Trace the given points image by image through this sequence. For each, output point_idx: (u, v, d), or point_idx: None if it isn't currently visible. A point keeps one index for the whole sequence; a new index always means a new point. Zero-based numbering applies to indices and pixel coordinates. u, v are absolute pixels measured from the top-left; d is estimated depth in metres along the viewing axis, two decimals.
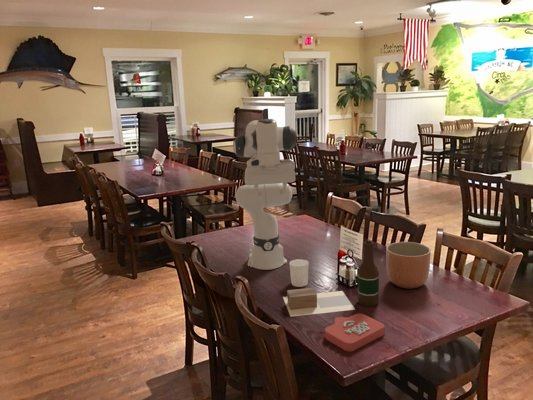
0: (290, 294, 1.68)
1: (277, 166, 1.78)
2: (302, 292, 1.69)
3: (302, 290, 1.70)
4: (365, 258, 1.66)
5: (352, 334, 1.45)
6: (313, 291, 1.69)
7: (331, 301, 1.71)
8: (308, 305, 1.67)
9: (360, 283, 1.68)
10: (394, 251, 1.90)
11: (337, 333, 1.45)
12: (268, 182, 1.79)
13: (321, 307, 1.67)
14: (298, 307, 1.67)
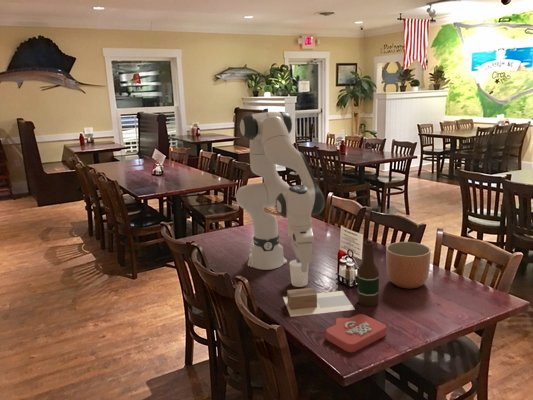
0: (290, 294, 1.68)
1: None
2: (302, 292, 1.69)
3: (302, 290, 1.70)
4: (365, 258, 1.66)
5: (354, 335, 1.44)
6: (313, 291, 1.69)
7: (331, 301, 1.71)
8: (308, 305, 1.67)
9: (360, 283, 1.68)
10: (394, 251, 1.90)
11: (339, 334, 1.45)
12: None
13: (321, 307, 1.67)
14: (298, 307, 1.67)
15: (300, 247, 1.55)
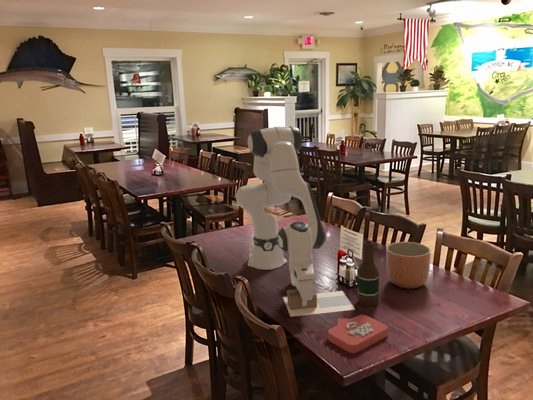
0: (290, 294, 1.68)
1: None
2: None
3: None
4: (365, 258, 1.66)
5: (355, 336, 1.44)
6: (313, 291, 1.69)
7: (331, 301, 1.71)
8: (308, 305, 1.67)
9: (360, 283, 1.68)
10: (394, 251, 1.90)
11: (340, 335, 1.44)
12: None
13: (321, 307, 1.67)
14: (298, 307, 1.67)
15: (301, 284, 1.58)
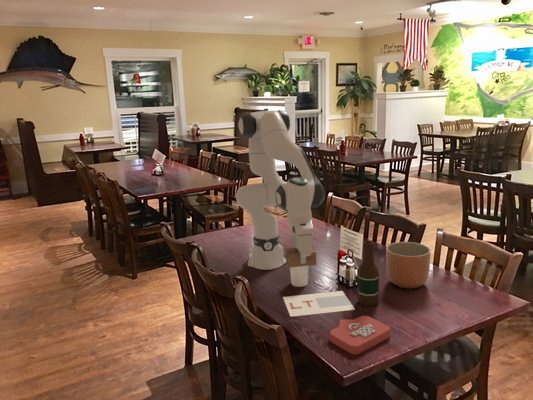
0: (288, 252, 1.64)
1: None
2: None
3: None
4: (365, 258, 1.66)
5: (357, 337, 1.43)
6: (312, 249, 1.65)
7: (331, 301, 1.71)
8: (307, 262, 1.63)
9: (360, 283, 1.68)
10: (394, 251, 1.90)
11: (342, 336, 1.44)
12: None
13: (321, 307, 1.67)
14: (297, 265, 1.63)
15: (300, 239, 1.54)
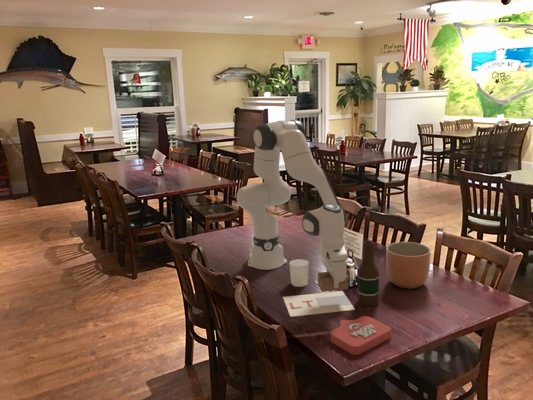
0: (321, 276, 1.68)
1: None
2: None
3: None
4: (365, 258, 1.66)
5: (358, 337, 1.43)
6: None
7: (331, 301, 1.71)
8: (339, 287, 1.67)
9: (360, 283, 1.67)
10: (394, 251, 1.90)
11: (343, 336, 1.43)
12: None
13: (321, 307, 1.67)
14: (329, 289, 1.67)
15: (334, 265, 1.58)
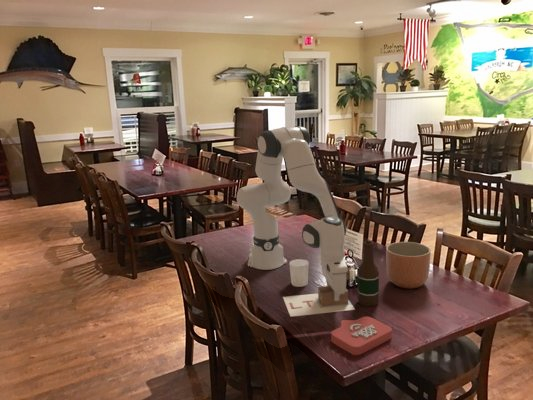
0: (321, 291, 1.69)
1: None
2: None
3: None
4: (365, 258, 1.66)
5: (359, 337, 1.42)
6: None
7: None
8: (339, 301, 1.69)
9: (360, 283, 1.68)
10: (394, 251, 1.90)
11: (344, 337, 1.43)
12: None
13: (321, 307, 1.67)
14: (330, 304, 1.68)
15: (334, 278, 1.59)
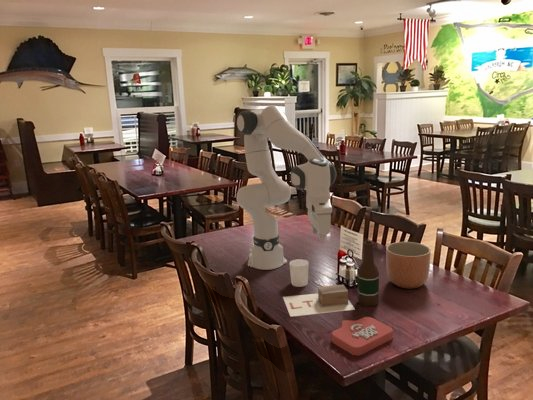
0: (321, 291, 1.69)
1: None
2: (333, 288, 1.71)
3: (333, 287, 1.72)
4: (365, 258, 1.66)
5: (359, 338, 1.42)
6: (344, 288, 1.71)
7: None
8: (339, 301, 1.69)
9: (360, 283, 1.68)
10: (394, 251, 1.90)
11: (344, 337, 1.43)
12: None
13: (321, 307, 1.67)
14: (330, 304, 1.68)
15: (319, 218, 1.60)
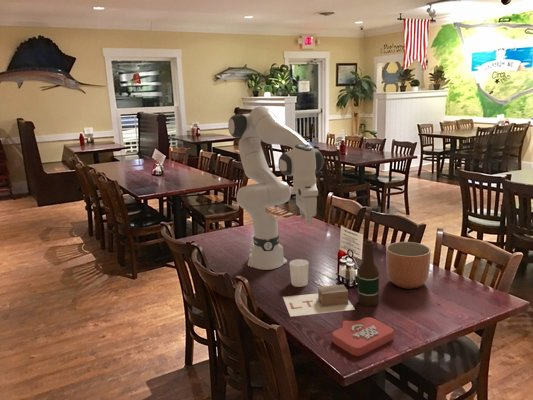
0: (321, 291, 1.69)
1: None
2: (333, 288, 1.71)
3: (333, 287, 1.72)
4: (365, 258, 1.66)
5: (360, 338, 1.42)
6: (344, 288, 1.71)
7: None
8: (339, 301, 1.69)
9: (360, 283, 1.68)
10: (394, 251, 1.90)
11: (345, 337, 1.43)
12: None
13: (321, 307, 1.67)
14: (330, 304, 1.68)
15: (305, 200, 1.65)
